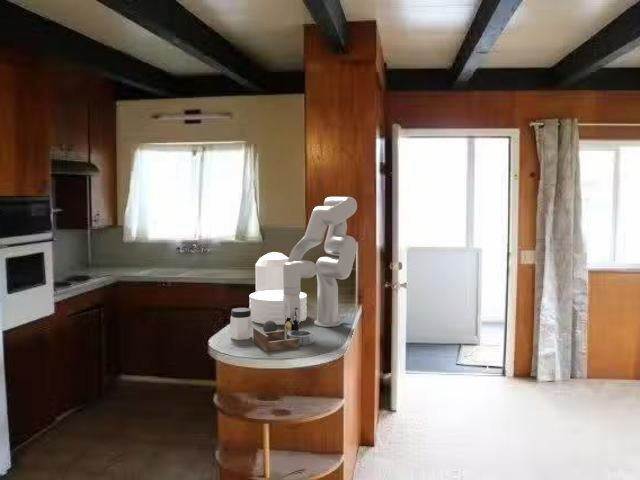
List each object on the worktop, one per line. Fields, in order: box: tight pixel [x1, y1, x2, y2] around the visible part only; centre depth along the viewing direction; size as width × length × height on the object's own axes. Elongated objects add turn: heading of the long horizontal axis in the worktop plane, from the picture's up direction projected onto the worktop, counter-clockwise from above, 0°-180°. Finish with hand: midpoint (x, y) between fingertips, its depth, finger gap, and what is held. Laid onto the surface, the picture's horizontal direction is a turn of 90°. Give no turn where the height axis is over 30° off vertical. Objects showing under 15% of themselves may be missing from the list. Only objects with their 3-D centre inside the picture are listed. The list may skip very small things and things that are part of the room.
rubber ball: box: [262, 320, 278, 333], centre depth 242 cm, size 6×6×6 cm
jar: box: [230, 307, 253, 341], centre depth 236 cm, size 9×8×12 cm
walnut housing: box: [252, 327, 299, 352], centre depth 225 cm, size 14×15×6 cm
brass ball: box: [284, 320, 292, 333], centre depth 243 cm, size 6×6×6 cm
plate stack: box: [248, 290, 308, 325], centre depth 273 cm, size 28×28×12 cm
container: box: [254, 251, 289, 292], centre depth 312 cm, size 21×21×28 cm
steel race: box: [286, 329, 315, 346], centre depth 230 cm, size 11×11×4 cm
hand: (291, 331), depth 243 cm, fingers closed on brass ball, 6 cm apart
